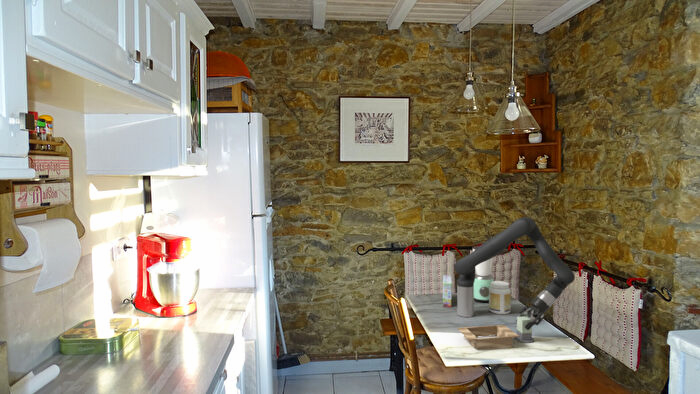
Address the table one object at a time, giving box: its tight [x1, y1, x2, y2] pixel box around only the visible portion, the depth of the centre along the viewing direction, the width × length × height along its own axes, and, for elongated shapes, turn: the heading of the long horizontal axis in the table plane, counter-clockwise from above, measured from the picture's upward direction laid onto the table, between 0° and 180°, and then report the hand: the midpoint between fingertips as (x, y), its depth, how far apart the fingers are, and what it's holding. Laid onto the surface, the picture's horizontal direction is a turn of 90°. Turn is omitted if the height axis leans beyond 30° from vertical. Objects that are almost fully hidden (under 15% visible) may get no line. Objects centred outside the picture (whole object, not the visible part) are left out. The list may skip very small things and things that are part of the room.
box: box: [516, 315, 533, 340], centre depth 214 cm, size 5×5×10 cm
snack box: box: [442, 275, 453, 308], centre depth 276 cm, size 21×6×15 cm, turn 168°
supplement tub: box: [488, 280, 512, 315], centre depth 257 cm, size 12×12×17 cm
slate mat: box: [513, 337, 535, 344], centre depth 214 cm, size 9×9×1 cm
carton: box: [457, 324, 520, 351], centre depth 212 cm, size 16×25×5 cm, turn 97°
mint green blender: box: [472, 245, 495, 303], centre depth 279 cm, size 19×13×35 cm
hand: (521, 325), depth 214 cm, fingers open, 8 cm apart
